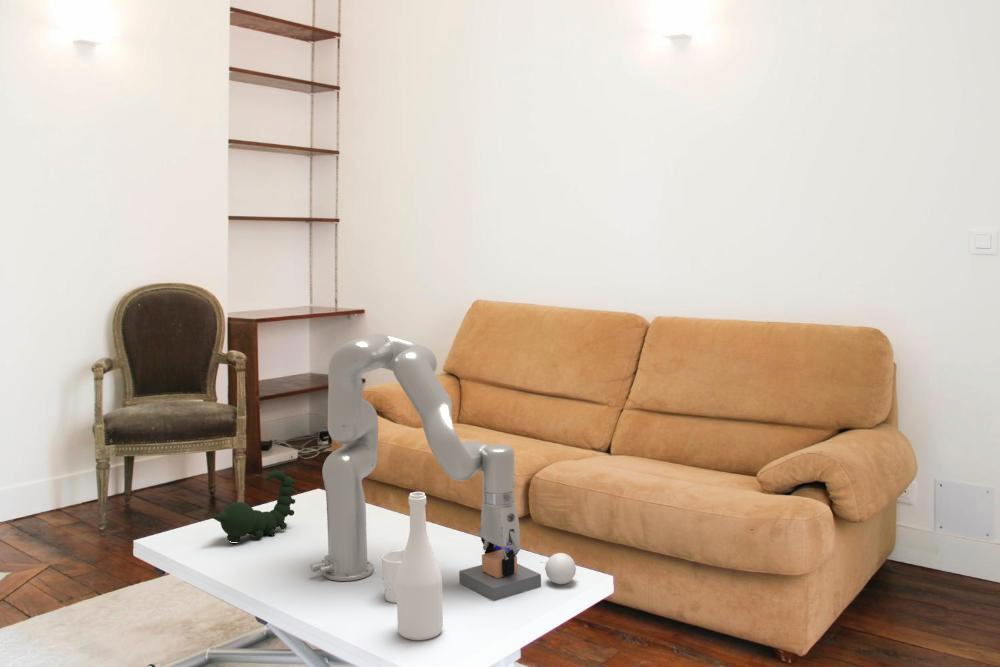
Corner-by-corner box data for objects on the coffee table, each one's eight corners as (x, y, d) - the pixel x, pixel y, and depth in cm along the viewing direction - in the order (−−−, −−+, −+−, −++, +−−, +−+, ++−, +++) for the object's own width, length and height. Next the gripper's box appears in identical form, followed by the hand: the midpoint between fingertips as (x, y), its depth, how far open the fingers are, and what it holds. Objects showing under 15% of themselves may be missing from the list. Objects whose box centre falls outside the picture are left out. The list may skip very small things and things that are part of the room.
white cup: (402, 607, 207) (401, 564, 206) (375, 600, 212) (374, 558, 211) (423, 595, 214) (422, 553, 213) (397, 588, 218) (396, 548, 217)
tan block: (496, 589, 216) (496, 561, 215) (482, 582, 221) (481, 554, 220) (517, 583, 219) (516, 556, 219) (502, 576, 224) (502, 549, 223)
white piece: (582, 583, 220) (582, 554, 219) (559, 591, 215) (559, 561, 214) (554, 572, 228) (554, 543, 227) (531, 579, 223) (531, 550, 222)
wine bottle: (445, 622, 199) (442, 487, 195) (440, 642, 189) (437, 500, 186) (401, 622, 199) (398, 487, 196) (394, 641, 190) (390, 500, 186)
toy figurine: (281, 530, 269) (202, 543, 251) (283, 466, 268) (205, 475, 250) (299, 537, 263) (220, 551, 244) (302, 471, 262) (223, 481, 244)
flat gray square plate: (493, 600, 210) (493, 588, 210) (459, 582, 221) (459, 570, 221) (541, 586, 218) (540, 574, 218) (505, 569, 230) (505, 558, 229)
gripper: (533, 502, 213) (534, 577, 215) (490, 486, 227) (491, 556, 229) (507, 508, 209) (508, 584, 210) (465, 491, 222) (466, 563, 224)
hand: (499, 569), depth 220 cm, fingers open, 6 cm apart
